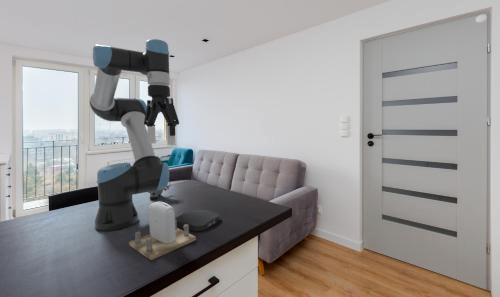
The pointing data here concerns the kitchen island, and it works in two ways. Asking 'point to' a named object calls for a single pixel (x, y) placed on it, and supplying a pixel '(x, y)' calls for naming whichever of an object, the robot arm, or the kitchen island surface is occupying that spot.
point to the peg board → (161, 243)
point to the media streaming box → (197, 219)
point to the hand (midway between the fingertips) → (161, 144)
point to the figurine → (157, 193)
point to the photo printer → (162, 222)
